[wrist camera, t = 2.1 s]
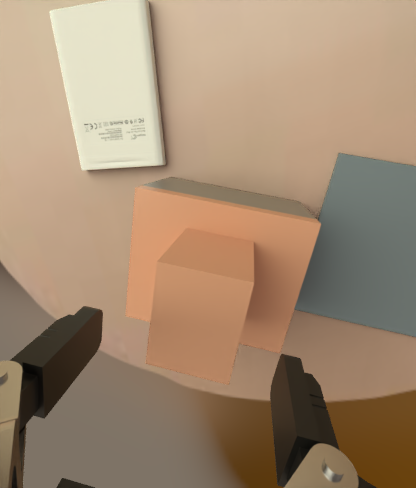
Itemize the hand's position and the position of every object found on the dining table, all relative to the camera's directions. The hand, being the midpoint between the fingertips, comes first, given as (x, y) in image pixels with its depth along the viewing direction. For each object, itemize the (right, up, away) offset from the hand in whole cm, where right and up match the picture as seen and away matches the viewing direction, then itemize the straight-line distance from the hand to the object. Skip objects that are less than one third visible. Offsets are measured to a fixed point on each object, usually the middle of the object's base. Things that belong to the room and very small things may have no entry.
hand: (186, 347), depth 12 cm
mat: (+18, +3, +13) cm, 23 cm away
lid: (+2, +3, +9) cm, 10 cm away
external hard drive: (-7, +18, +13) cm, 23 cm away
